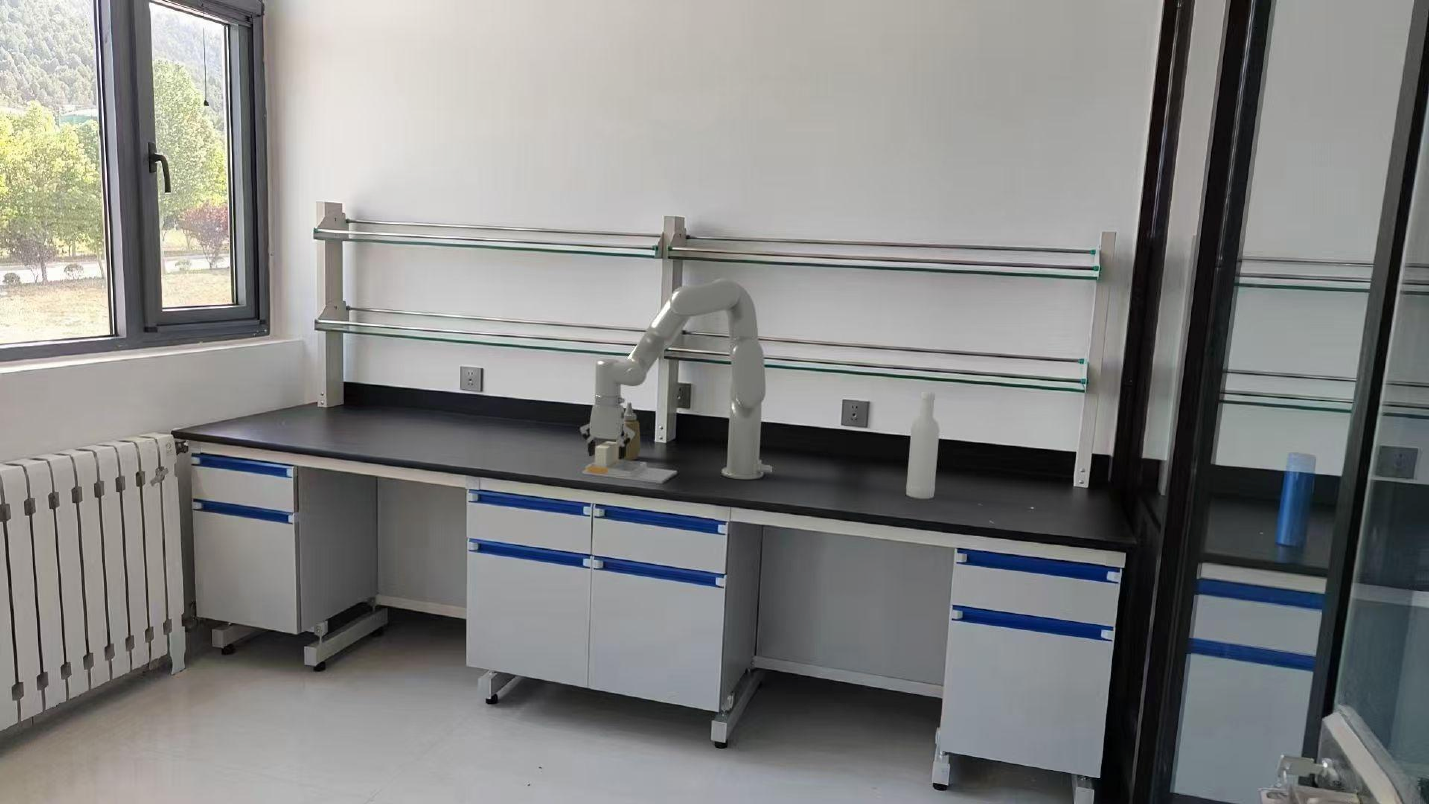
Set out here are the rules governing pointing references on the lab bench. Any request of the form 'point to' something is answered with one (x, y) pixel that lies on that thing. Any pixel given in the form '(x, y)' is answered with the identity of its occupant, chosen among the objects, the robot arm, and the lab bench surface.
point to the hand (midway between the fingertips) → (606, 457)
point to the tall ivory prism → (606, 454)
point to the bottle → (923, 451)
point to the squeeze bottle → (634, 444)
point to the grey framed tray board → (631, 471)
